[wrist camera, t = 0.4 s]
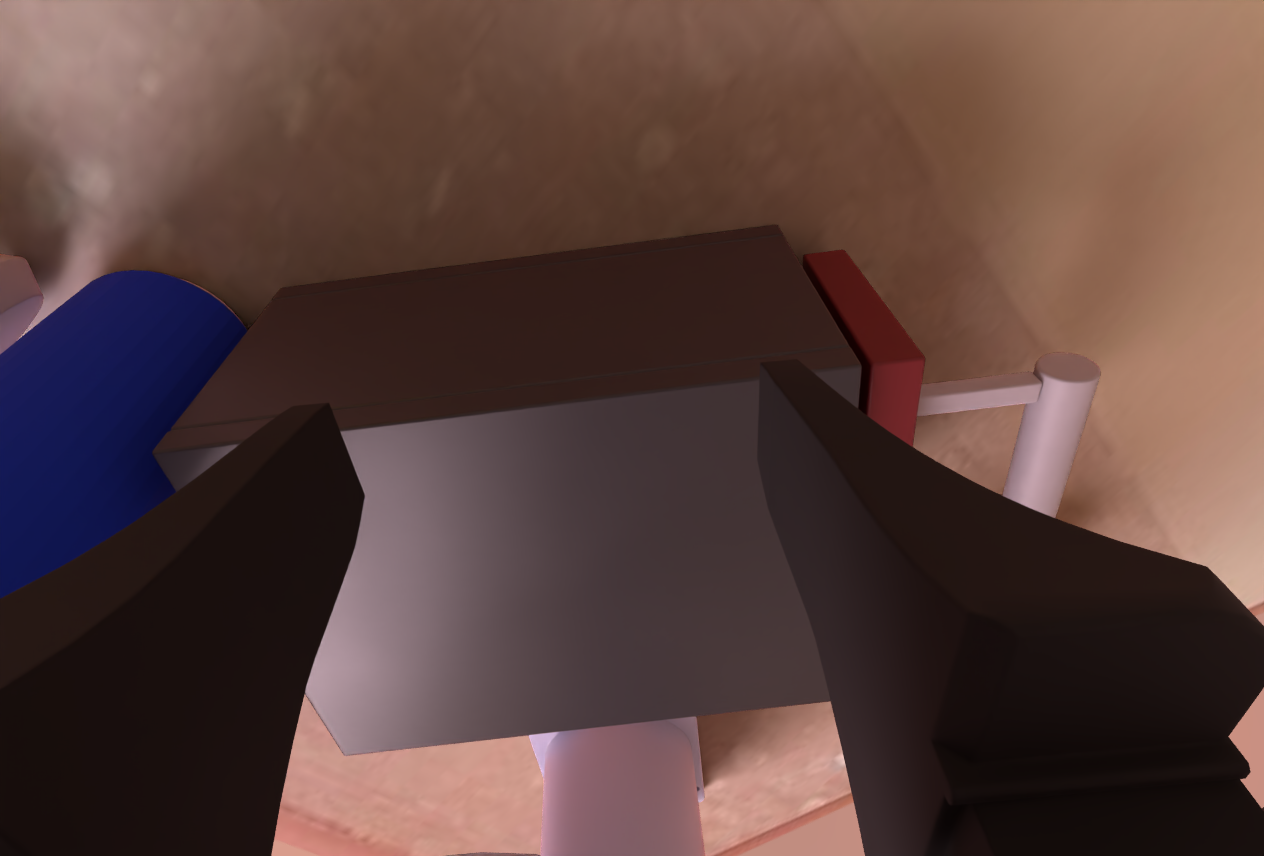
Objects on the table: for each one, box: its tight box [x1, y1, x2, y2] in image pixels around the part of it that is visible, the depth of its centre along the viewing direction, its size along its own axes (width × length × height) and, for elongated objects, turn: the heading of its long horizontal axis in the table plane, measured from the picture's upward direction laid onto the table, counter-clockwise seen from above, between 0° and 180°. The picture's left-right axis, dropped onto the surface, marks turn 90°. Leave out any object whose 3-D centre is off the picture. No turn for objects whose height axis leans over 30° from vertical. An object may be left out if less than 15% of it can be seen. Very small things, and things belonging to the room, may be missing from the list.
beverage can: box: [0, 270, 247, 598], centre depth 16 cm, size 5×5×15 cm
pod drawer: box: [803, 250, 1101, 518], centre depth 21 cm, size 18×10×6 cm, turn 96°
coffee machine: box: [152, 225, 862, 756], centre depth 21 cm, size 15×12×8 cm
